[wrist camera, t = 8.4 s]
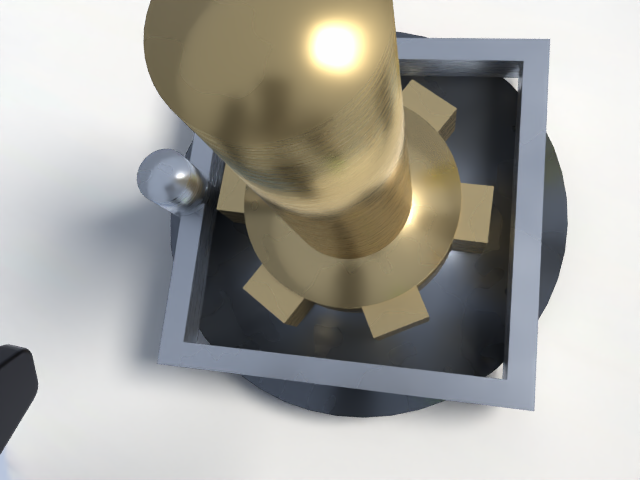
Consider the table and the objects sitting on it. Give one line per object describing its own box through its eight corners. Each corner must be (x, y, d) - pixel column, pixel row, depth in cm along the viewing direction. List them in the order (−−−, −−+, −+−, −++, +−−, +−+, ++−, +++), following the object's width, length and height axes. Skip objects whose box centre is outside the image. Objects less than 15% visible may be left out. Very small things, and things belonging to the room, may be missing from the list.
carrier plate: (553, 441, 19) (585, 461, 15) (154, 388, 22) (95, 393, 18) (567, 46, 22) (598, -23, 18) (209, 43, 24) (169, -18, 20)
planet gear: (526, 283, 19) (671, 159, 8) (286, 376, 20) (88, 390, 8) (421, 61, 21) (412, -296, 10) (210, 152, 22) (-28, -80, 11)
